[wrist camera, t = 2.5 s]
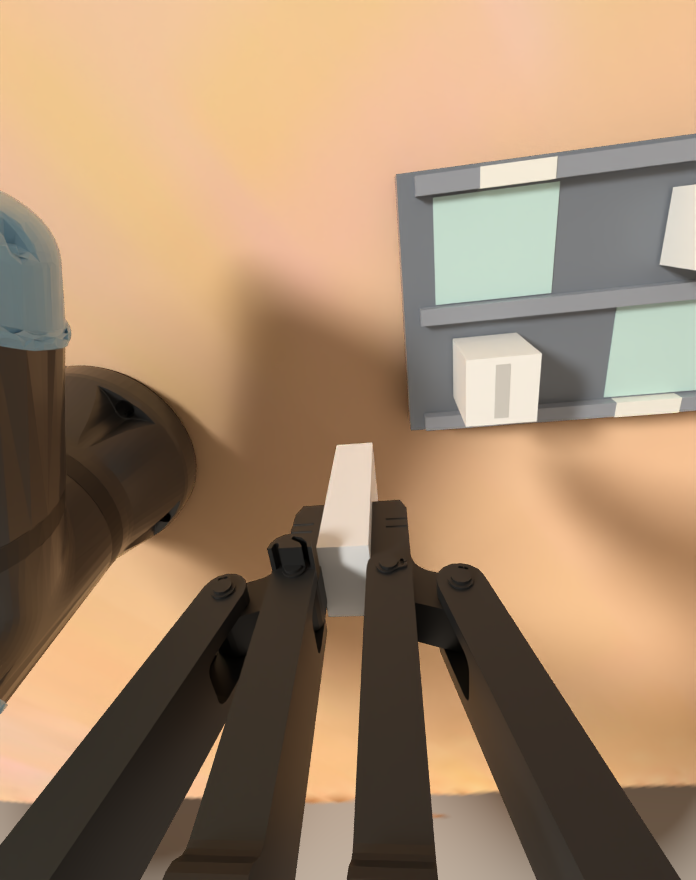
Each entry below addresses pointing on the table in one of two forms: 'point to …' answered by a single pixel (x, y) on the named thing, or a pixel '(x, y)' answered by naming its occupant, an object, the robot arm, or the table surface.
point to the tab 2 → (681, 229)
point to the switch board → (552, 278)
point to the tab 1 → (496, 379)
